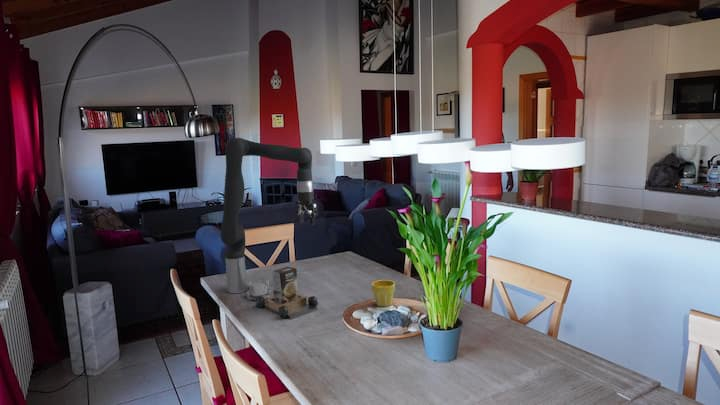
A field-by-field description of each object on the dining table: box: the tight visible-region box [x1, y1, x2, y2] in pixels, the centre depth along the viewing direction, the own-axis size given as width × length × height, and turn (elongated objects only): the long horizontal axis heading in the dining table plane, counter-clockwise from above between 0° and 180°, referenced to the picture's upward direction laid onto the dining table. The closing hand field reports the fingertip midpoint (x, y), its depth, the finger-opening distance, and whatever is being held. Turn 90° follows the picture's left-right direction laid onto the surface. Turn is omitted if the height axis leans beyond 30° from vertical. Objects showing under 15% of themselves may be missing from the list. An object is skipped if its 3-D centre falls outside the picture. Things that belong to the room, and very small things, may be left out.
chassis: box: [255, 293, 319, 320], centre depth 223 cm, size 26×17×5 cm, turn 43°
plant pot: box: [371, 279, 396, 308], centre depth 222 cm, size 10×10×10 cm
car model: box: [246, 279, 272, 301], centre depth 244 cm, size 11×24×5 cm, turn 12°
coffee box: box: [272, 266, 299, 304], centre depth 222 cm, size 9×6×16 cm
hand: (307, 224), depth 240 cm, fingers open, 8 cm apart
